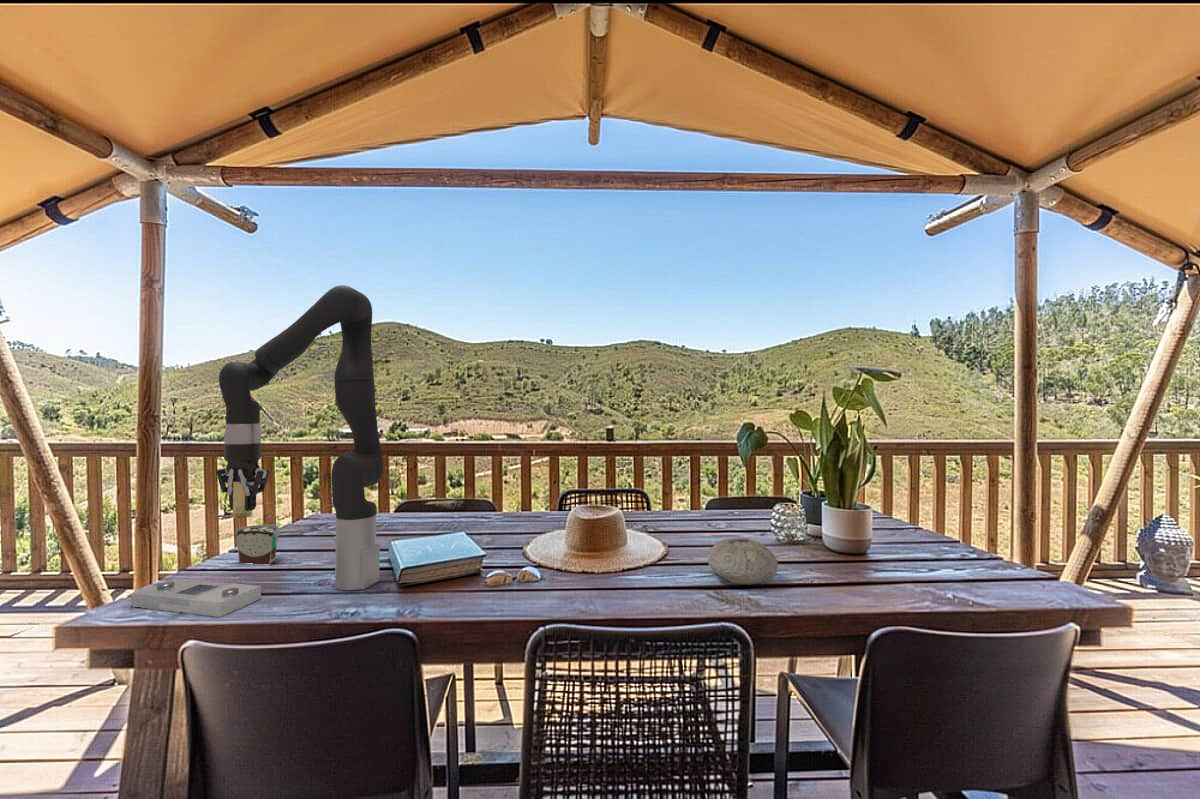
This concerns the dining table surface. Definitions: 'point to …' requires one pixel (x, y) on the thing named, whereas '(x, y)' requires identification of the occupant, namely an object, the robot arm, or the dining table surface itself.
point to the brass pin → (240, 501)
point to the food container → (257, 543)
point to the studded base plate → (196, 597)
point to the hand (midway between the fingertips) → (242, 509)
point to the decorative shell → (742, 561)
